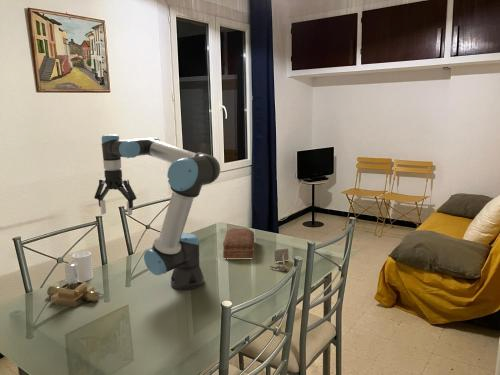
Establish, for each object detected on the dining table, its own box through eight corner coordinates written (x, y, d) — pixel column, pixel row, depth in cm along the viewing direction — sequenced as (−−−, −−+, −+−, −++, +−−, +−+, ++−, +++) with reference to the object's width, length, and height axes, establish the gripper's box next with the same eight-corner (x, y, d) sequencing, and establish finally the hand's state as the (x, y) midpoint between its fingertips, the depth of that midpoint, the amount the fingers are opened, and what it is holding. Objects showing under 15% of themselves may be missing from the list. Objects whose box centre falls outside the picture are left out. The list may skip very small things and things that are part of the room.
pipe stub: (82, 289, 165) (80, 263, 163) (74, 295, 160) (71, 268, 158) (72, 288, 166) (70, 261, 164) (63, 293, 161) (61, 266, 159)
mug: (72, 285, 175) (69, 261, 173) (64, 280, 181) (61, 256, 178) (96, 277, 184) (94, 253, 181) (88, 272, 189) (86, 249, 187)
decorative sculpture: (289, 273, 188) (289, 259, 186) (269, 273, 189) (269, 259, 187) (288, 260, 204) (288, 247, 202) (270, 260, 204) (270, 247, 203)
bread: (254, 242, 232) (254, 224, 230) (253, 261, 204) (253, 240, 201) (226, 242, 233) (226, 223, 231) (221, 260, 204) (221, 240, 202)
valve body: (105, 294, 166) (104, 282, 165) (87, 308, 155) (86, 294, 154) (61, 288, 172) (59, 276, 171) (40, 301, 161) (38, 288, 160)
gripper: (142, 168, 175) (145, 213, 179) (93, 167, 180) (97, 211, 184) (133, 170, 168) (137, 217, 172) (83, 169, 173) (88, 215, 177)
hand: (116, 214), depth 178 cm, fingers open, 13 cm apart
